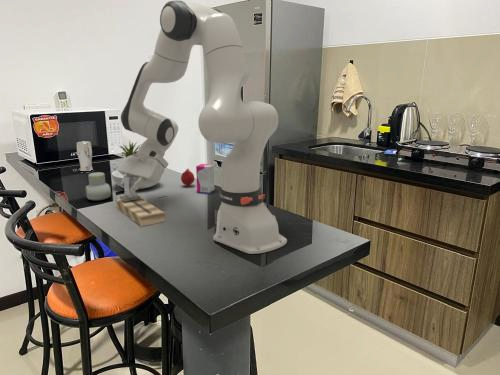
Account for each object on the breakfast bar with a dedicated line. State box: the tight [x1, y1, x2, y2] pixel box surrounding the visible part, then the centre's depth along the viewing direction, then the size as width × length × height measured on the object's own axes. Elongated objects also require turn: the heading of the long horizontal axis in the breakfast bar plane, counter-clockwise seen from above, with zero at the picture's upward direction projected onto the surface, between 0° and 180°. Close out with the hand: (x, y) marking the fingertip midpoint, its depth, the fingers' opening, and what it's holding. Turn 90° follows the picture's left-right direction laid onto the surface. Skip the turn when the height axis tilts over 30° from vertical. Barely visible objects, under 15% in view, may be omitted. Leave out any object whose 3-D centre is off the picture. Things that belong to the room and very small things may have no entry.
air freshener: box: [85, 171, 112, 202], centre depth 148 cm, size 11×8×10 cm
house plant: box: [119, 141, 143, 159], centre depth 189 cm, size 14×14×16 cm
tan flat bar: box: [115, 197, 166, 227], centre depth 131 cm, size 24×8×3 cm, turn 37°
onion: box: [180, 168, 195, 187], centre depth 166 cm, size 6×6×8 cm
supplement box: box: [195, 163, 216, 195], centre depth 158 cm, size 6×6×12 cm
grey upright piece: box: [119, 176, 142, 202], centre depth 136 cm, size 4×6×8 cm, turn 127°
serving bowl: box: [111, 169, 162, 191], centre depth 165 cm, size 21×21×7 cm
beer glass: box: [76, 140, 94, 171], centre depth 193 cm, size 7×7×15 cm
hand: (128, 187), depth 135 cm, fingers open, 5 cm apart
